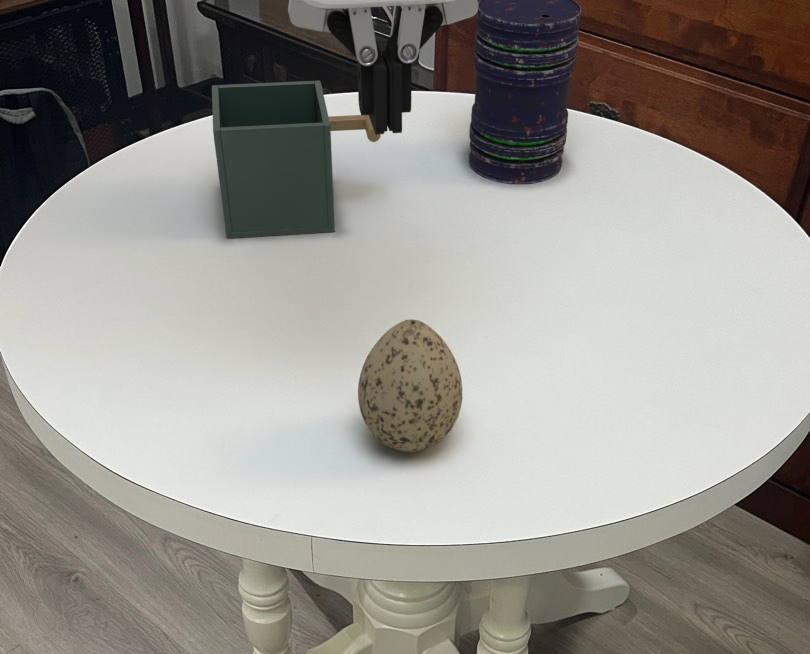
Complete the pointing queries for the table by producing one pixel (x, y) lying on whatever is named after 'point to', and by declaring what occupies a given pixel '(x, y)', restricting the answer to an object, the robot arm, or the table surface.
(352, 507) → the table surface
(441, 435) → the decorative egg
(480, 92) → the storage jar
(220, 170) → the green box with handle
